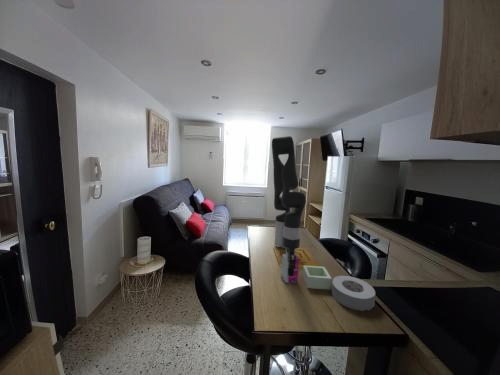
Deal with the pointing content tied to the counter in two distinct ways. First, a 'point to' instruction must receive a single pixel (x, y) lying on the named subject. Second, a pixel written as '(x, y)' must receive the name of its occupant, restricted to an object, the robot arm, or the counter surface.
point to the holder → (316, 277)
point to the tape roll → (353, 293)
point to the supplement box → (284, 270)
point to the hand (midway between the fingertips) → (289, 271)
